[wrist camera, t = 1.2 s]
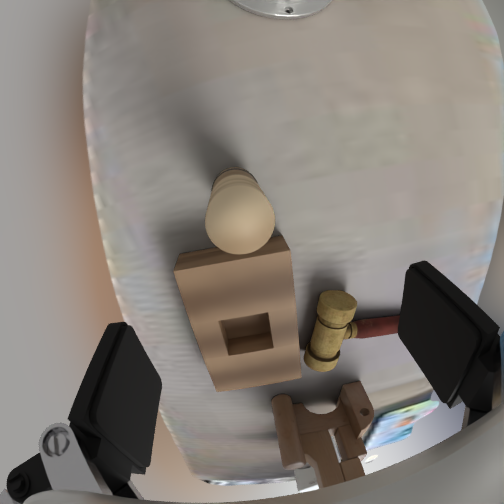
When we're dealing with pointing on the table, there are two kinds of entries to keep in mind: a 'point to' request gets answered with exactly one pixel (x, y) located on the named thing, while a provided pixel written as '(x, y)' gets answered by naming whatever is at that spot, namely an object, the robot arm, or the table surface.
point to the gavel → (340, 329)
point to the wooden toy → (325, 435)
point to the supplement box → (309, 475)
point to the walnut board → (243, 313)
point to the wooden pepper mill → (238, 213)
